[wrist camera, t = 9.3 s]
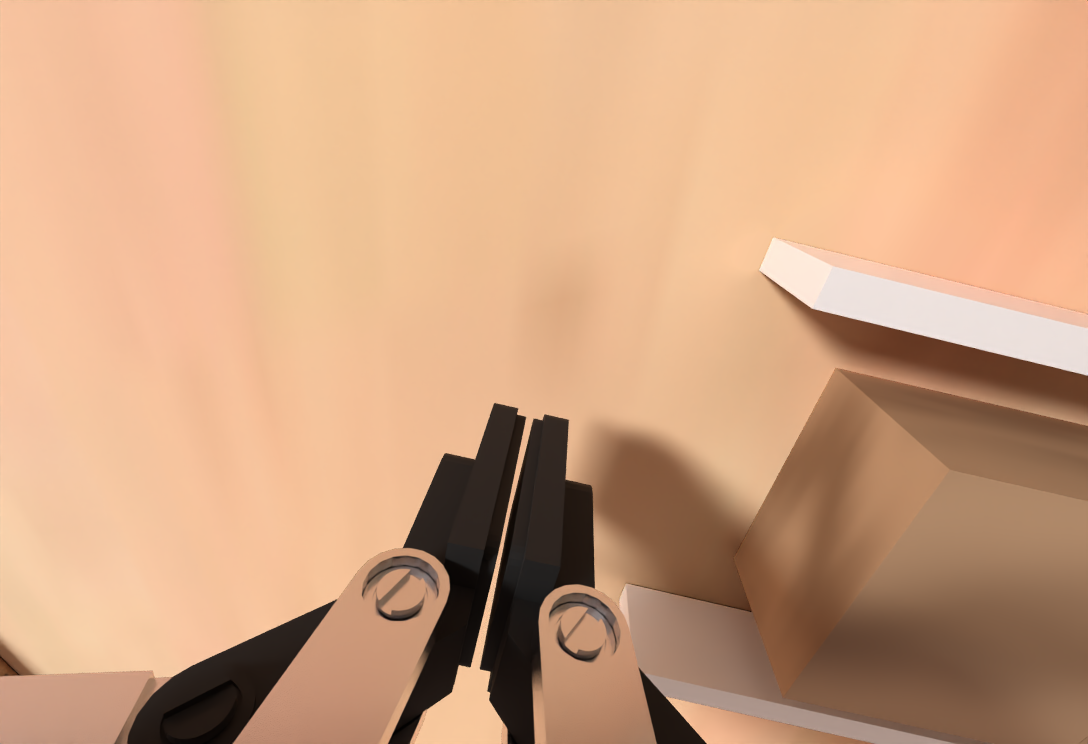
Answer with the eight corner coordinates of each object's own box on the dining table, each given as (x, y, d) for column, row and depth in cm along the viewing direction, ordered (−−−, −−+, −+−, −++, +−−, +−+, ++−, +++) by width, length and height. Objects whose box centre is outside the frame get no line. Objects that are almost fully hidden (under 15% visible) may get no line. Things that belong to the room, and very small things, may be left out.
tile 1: (832, 365, 13) (949, 469, 8) (1086, 423, 13) (1322, 554, 9) (731, 554, 16) (782, 697, 12) (937, 599, 16) (1059, 758, 12)
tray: (773, 237, 11) (832, 266, 8) (1489, 412, 11) (1768, 495, 9) (619, 598, 17) (625, 687, 14) (1106, 710, 17) (1205, 818, 14)
